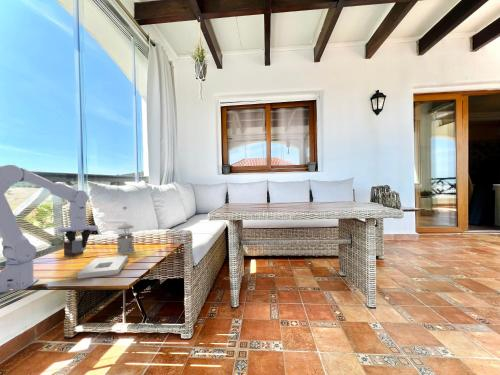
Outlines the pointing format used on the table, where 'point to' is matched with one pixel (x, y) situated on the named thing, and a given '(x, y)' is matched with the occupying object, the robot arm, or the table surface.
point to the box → (69, 250)
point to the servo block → (77, 246)
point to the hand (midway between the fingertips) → (79, 247)
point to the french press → (125, 240)
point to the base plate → (110, 266)
